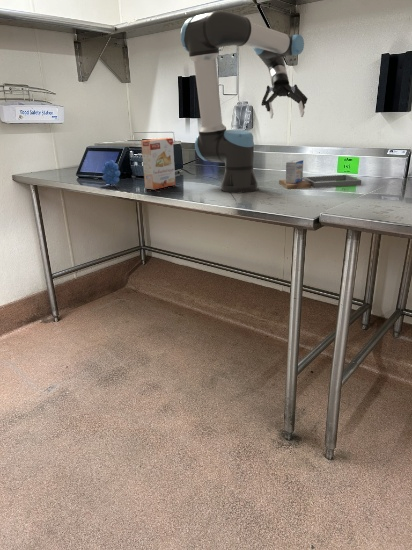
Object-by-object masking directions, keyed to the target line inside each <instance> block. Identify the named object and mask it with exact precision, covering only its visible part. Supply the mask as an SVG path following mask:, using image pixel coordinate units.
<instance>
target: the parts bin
mask: <svg viewBox="0 0 412 550" xmlns="http://www.w3.org/2000/svg"><path fill="white" fill-rule="evenodd" d="M303 180H305V181H306V182H308V183H310V184H311V188H313V189H315V188H316V189H317V188H334V187H335V188H336V187H348V186H349V187H351V186H361V185H362V179H359V178H357V177H354V176H351V175H349V174H337V175H336V174H335V175H317V176H316V175H315V176H303Z"/></svg>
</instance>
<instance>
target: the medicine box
mask: <svg viewBox="0 0 412 550" xmlns="http://www.w3.org/2000/svg"><path fill="white" fill-rule="evenodd" d="M303 177H304V160H303V159H294V160H289V161H287V162H286V163H285V180H286V183H294V184H295V183H298V182H300V181H302V180H303Z"/></svg>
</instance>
